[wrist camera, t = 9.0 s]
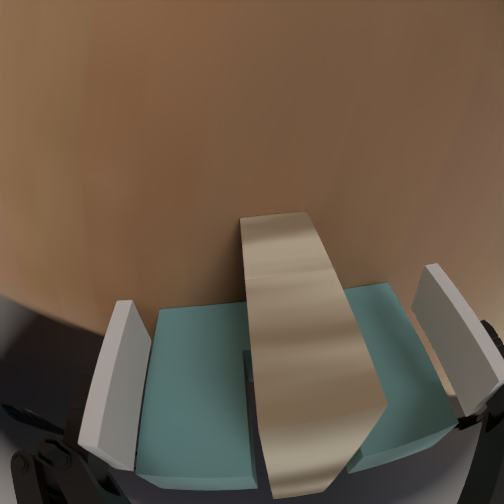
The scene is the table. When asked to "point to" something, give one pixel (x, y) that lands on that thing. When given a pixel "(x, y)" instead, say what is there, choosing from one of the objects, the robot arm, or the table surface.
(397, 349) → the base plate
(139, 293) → the table surface
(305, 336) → the upper plate
